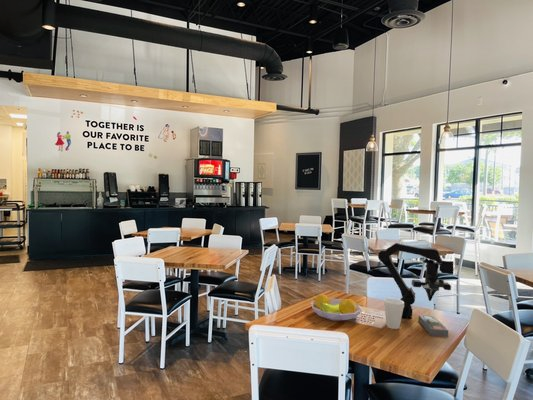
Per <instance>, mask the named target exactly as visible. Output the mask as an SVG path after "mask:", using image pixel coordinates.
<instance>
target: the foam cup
mask: <svg viewBox="0 0 533 400" xmlns="http://www.w3.org/2000/svg"><path fill="white" fill-rule="evenodd" d="M383 302H384V315H385V325H387V326H386V327H387V328H389V329H393V330H398V329H400V327H401V321H402V319H403V318H402V313H403V308H404V302H403V301H401V300H400V299H397V298H391V297H390V298H385V299H384V300H383Z"/></svg>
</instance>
